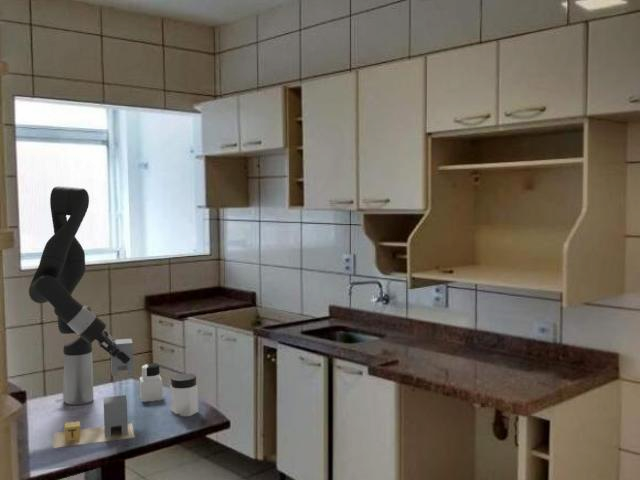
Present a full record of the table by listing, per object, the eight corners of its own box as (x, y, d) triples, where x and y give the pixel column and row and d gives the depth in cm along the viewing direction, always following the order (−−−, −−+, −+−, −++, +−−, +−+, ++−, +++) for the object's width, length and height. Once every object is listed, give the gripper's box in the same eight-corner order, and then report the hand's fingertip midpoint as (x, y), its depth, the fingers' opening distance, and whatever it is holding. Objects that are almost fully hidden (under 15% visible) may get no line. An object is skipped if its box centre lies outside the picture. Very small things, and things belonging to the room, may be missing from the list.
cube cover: (111, 376, 196) (111, 344, 195) (111, 370, 202) (110, 340, 201) (133, 374, 198) (132, 342, 197) (132, 369, 204) (131, 338, 203)
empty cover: (104, 437, 185) (103, 404, 184) (104, 429, 191) (103, 397, 190) (127, 434, 187) (126, 401, 186) (126, 427, 193) (125, 395, 192)
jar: (199, 407, 213) (198, 372, 212) (196, 416, 205) (196, 380, 204) (172, 408, 212) (171, 373, 211) (168, 417, 204) (168, 380, 203)
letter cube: (65, 441, 182) (64, 427, 182) (65, 436, 186) (65, 422, 186) (79, 439, 184) (79, 426, 183) (80, 434, 187) (79, 421, 187)
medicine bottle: (160, 394, 228) (159, 361, 227) (162, 400, 221) (162, 366, 220) (139, 396, 225) (139, 363, 225) (141, 402, 219) (141, 368, 218)
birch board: (53, 451, 178) (53, 447, 178) (55, 435, 189) (55, 432, 189) (134, 440, 185) (134, 437, 185) (132, 426, 196) (132, 423, 196)
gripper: (95, 319, 189) (137, 355, 194) (95, 311, 203) (134, 344, 208) (77, 338, 188) (119, 373, 193) (77, 329, 201) (117, 362, 206)
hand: (127, 358), depth 200 cm, fingers closed on cube cover, 6 cm apart
